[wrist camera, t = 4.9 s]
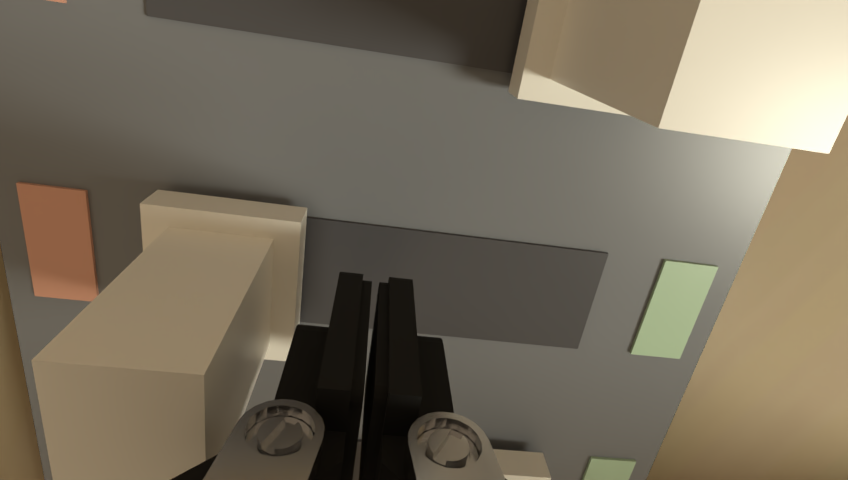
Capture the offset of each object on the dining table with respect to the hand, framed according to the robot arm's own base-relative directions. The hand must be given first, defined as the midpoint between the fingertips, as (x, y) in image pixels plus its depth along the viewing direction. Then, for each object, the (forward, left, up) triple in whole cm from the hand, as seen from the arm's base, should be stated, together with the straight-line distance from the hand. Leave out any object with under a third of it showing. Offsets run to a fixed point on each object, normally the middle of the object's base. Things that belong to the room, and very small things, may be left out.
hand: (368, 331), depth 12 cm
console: (0, 0, -4) cm, 4 cm away
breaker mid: (0, +4, -2) cm, 4 cm away
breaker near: (+7, -4, -2) cm, 9 cm away
